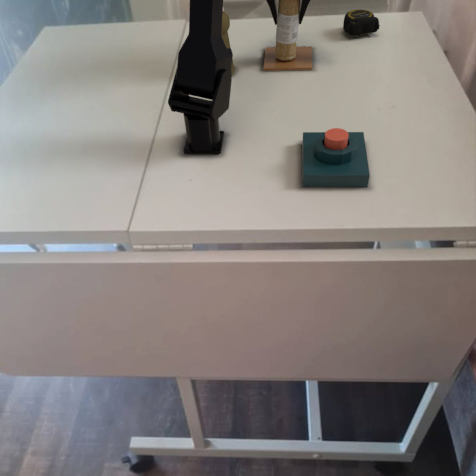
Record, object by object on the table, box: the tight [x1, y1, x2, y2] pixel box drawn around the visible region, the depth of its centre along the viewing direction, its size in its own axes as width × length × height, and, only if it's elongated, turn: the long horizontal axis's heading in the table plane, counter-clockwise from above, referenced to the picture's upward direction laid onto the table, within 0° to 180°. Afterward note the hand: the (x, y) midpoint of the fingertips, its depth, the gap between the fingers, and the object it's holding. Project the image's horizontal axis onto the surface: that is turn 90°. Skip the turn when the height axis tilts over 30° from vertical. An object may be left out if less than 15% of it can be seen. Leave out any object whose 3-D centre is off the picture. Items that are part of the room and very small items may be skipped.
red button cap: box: [324, 127, 349, 150], centre depth 74 cm, size 4×4×2 cm
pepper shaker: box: [221, 11, 236, 76], centre depth 96 cm, size 6×6×11 cm
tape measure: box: [342, 9, 381, 37], centre depth 107 cm, size 7×7×4 cm
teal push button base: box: [301, 131, 371, 188], centre depth 76 cm, size 12×10×4 cm
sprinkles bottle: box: [275, 0, 301, 61], centre depth 96 cm, size 5×5×13 cm
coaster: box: [262, 46, 313, 72], centre depth 102 cm, size 10×10×1 cm
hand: (288, 23), depth 97 cm, fingers closed on sprinkles bottle, 4 cm apart
